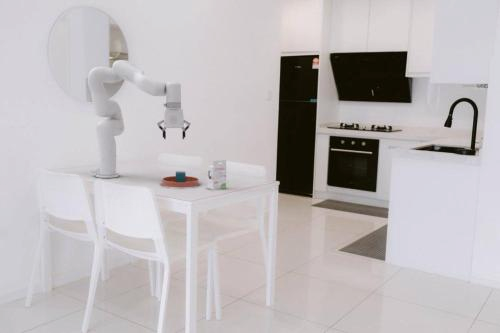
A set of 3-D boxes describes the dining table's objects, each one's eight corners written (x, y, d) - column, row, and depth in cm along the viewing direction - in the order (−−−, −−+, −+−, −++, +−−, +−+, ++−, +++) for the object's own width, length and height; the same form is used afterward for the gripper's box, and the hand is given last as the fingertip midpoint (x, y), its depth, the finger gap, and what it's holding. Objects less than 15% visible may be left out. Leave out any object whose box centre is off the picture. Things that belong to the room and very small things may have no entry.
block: (175, 184, 243) (175, 173, 242) (175, 182, 248) (175, 171, 247) (185, 184, 244) (185, 173, 243) (185, 182, 249) (185, 171, 248)
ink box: (220, 186, 244) (221, 158, 241) (226, 188, 240) (227, 159, 238) (206, 188, 238) (207, 159, 236) (212, 190, 234) (213, 160, 232)
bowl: (161, 188, 235) (161, 182, 234) (162, 181, 254) (162, 175, 253) (199, 188, 238) (200, 182, 238) (197, 181, 257) (198, 176, 256)
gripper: (156, 106, 240) (156, 139, 243) (190, 106, 242) (190, 139, 245) (157, 105, 248) (158, 138, 250) (190, 106, 250) (190, 138, 252)
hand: (174, 138), depth 247 cm, fingers open, 9 cm apart
